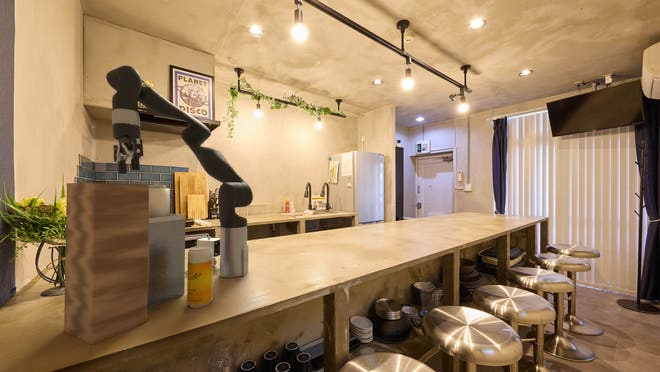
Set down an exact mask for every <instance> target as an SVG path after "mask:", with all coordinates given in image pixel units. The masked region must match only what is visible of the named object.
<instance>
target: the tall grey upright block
mask: <svg viewBox="0 0 660 372" xmlns="http://www.w3.org/2000/svg"><path fill="white" fill-rule="evenodd" d="M185 264H186V214H180V213H179V214H177V213H170V215H169V216H165V217H154V218H149V228H148V299H147V309H150V308H153V307H155V306H158V305H160V304H162V303H165V302H168V301H170V300H172V299H175V298H178V297H180V296H183V295H185V289H186V288H185V285H186V284H185V280H186V278H185V277H186V276H185V274H186V273H185V271H186V269H185V268H186V265H185ZM167 300H168V301H167Z"/></svg>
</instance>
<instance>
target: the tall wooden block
mask: <svg viewBox="0 0 660 372" xmlns="http://www.w3.org/2000/svg"><path fill="white" fill-rule="evenodd" d="M149 185H150V184H149V183H122V182H121V183H119V182H118V183H117V182H114V183H113V182H67V183H66V205H65V206H66V209H65V211H66V213H65V214H66V215H65V220H66V221H65V260H64V261H65V262H64V263H65V265H64V266H65V267H64V270H65V271H64V311H63V312H64V313H63V314H64V315H63V319H64V320H63V325H64V326H63V331H64V332H66V333H68V334H69V335H72V336H73V337H75V338H77V339H80V340H81V341H83V342H85V343H87V344H90V345H91V346H94V345H96V344H99V343H101V342H103V341H106V340H108V339H110V338H112V337H114V336H117V335H121V334H122V333H124V332H127V331H129V330H131V329H133V328H135V327H138V326H140V325H142V324H144V323H146V322H148V308H147V299H148V228H149Z"/></svg>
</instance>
